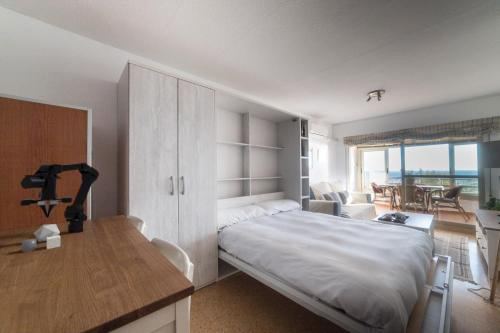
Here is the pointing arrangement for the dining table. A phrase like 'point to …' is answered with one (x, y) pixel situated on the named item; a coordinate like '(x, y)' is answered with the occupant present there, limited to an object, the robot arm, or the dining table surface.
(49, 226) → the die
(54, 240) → the cream block
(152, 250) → the dining table surface
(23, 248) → the grey rounded piece
